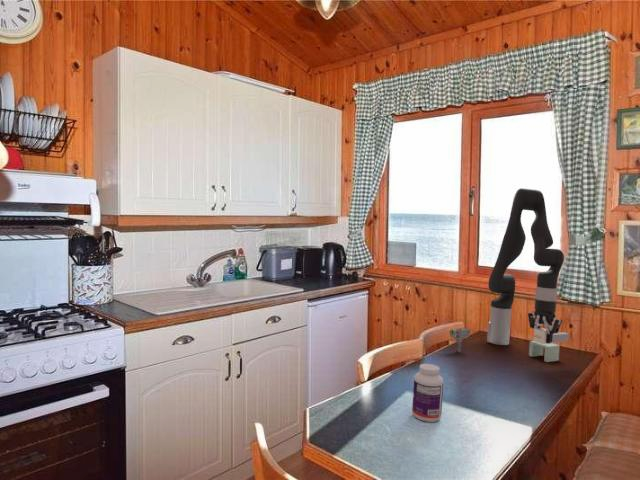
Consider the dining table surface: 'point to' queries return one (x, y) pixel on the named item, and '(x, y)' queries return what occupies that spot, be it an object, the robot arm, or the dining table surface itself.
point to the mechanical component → (459, 336)
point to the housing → (550, 351)
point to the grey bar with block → (557, 337)
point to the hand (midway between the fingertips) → (542, 341)
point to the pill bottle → (427, 393)
